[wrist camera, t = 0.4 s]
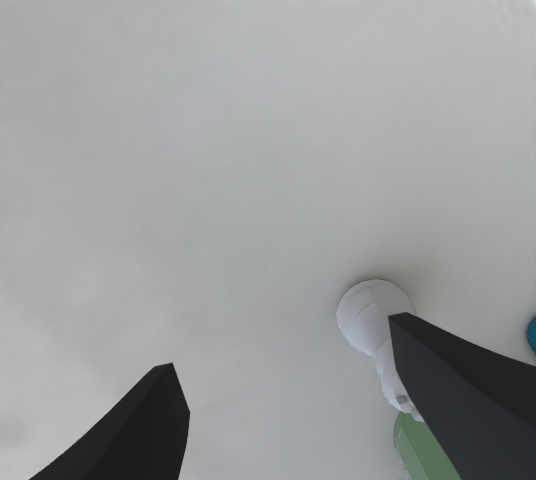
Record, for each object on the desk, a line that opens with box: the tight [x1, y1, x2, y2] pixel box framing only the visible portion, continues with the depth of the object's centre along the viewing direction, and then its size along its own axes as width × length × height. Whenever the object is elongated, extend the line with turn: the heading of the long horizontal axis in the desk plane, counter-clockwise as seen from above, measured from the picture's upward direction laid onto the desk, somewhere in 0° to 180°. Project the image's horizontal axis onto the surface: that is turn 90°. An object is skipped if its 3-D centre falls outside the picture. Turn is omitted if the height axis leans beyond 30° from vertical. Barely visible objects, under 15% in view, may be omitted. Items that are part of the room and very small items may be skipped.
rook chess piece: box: [336, 279, 425, 422], centre depth 18 cm, size 4×4×8 cm
